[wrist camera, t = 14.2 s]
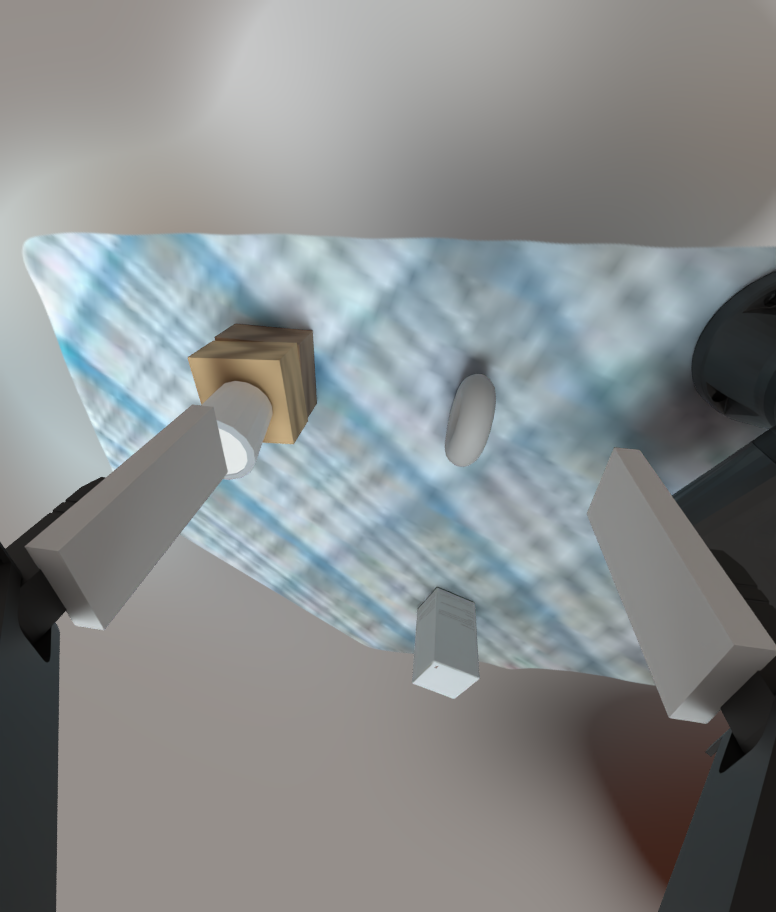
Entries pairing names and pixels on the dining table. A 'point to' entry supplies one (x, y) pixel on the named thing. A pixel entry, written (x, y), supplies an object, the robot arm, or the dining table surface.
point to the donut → (470, 420)
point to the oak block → (257, 379)
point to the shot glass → (240, 424)
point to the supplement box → (446, 644)
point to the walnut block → (289, 336)
